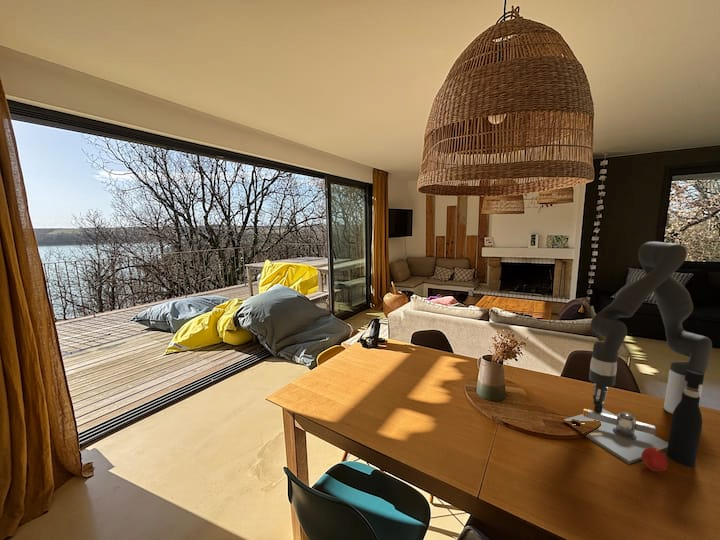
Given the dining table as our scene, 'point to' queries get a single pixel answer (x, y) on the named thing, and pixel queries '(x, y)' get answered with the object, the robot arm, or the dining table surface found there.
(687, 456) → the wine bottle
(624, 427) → the silver knobbed bar
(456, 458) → the dining table surface
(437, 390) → the dining table surface
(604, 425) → the board
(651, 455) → the onion
